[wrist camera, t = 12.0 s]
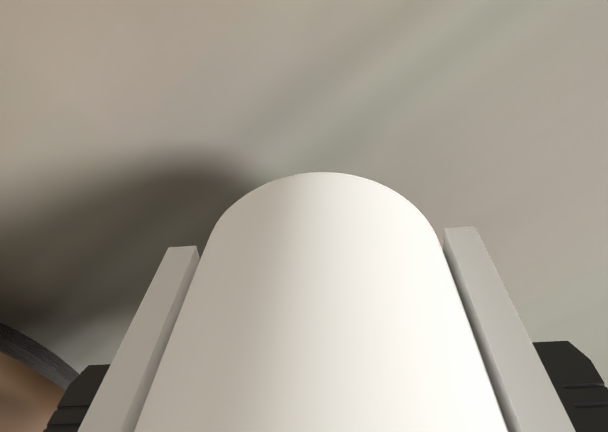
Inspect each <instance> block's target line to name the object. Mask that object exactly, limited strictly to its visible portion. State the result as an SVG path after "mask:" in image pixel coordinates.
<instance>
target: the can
mask: <svg viewBox="0 0 608 432" xmlns="http://www.w3.org/2000/svg"><path fill="white" fill-rule="evenodd" d="M134 432H509V431H508V428H507V426H506V423H505V420H504V417H503V414H502V412H501V409H500V406H499V403H498V400H497V398H496V395H495V392H494V389H493V387H492V384H491V381H490V378H489V375H488V373H487V370H486V367H485V364H484V362H483V359H482V356H481V353H480V351H479V348H478V345H477V342H476V339H475V337H474V334H473V331H472V328H471V326H470V323H469V320H468V317H467V315H466V312H465V309H464V306H463V304H462V301H461V298H460V295H459V293H458V290H457V287H456V284H455V282H454V279H453V276H452V274H451V271H450V268H449V266H448V263H447V260H446V258H445V255H444V252H443V250H442V247H441V245H440V243H439V240H438V238H437V236H436V234H435V232H434V230H433V229H432V227H431V225H430V224H429V222H428V221H427V220H426V218H425V217H424V216H423V215H422V213H421V212H420V211H419V210H418V209H417V208H416V207H415V206H414V205H413V204H412V203H410V202H409V201H408V200H407V199H405V198H404V197H403V196H401V195H400V194H398V193H397V192H395V191H393V190H392V189H390V188H388V187H386V186H384V185H382V184H379V183H377V182H374V181H372V180H369V179H366V178H362V177H358V176H354V175H349V174H343V173H333V172H312V173H303V174H296V175H291V176H287V177H283V178H280V179H277V180H274V181H271V182H269V183H266V184H264V185H262V186H260V187H258V188H256V189H254V190H252V191H251V192H249V193H248V194H246V195H245V196H243V197H242V198H240V199H239V200H238V201H237V202H235V203H234V204H233V205H232V206H231V207H230V208H228V209H227V210H226V211H225V213H224V214H223V215H222V216H221V217H220V219H219V220H218V222H217V223H216V225H215V227H214V229H213V231H212V233H211V235H210V237H209V239H208V242H207V244H206V247H205V249H204V251H203V254H202V256H201V259H200V261H199V264H198V266H197V269H196V272H195V274H194V277H193V279H192V282H191V284H190V287H189V290H188V292H187V295H186V297H185V300H184V302H183V305H182V308H181V310H180V313H179V315H178V318H177V320H176V323H175V326H174V328H173V331H172V334H171V336H170V339H169V341H168V344H167V347H166V349H165V352H164V354H163V357H162V360H161V362H160V365H159V367H158V370H157V373H156V375H155V378H154V380H153V383H152V386H151V388H150V391H149V393H148V396H147V399H146V401H145V404H144V407H143V409H142V412H141V414H140V417H139V420H138V422H137V425H136V427H135V430H134Z"/></svg>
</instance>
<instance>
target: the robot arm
mask: <svg viewBox="0 0 608 432" xmlns="http://www.w3.org/2000/svg"><path fill="white" fill-rule="evenodd" d="M443 252H444V255H445V258H446V260H447V263H448V266H449V268H450V271H451V274H452V276H453V279H454V282H455V284H456V287H457V290H458V293H459V295H460V298H461V301H462V304H463V306H464V309H465V312H466V315H467V317H468V320H469V323H470V326H471V328H472V331H473V334H474V337H475V339H476V342H477V345H478V348H479V351H480V353H481V356H482V359H483V362H484V364H485V367H486V370H487V373H488V375H489V378H490V381H491V384H492V387H493V389H494V392H495V395H496V398H497V400H498V403H499V406H500V409H501V412H502V414H503V417H504V420H505V423H506V426H507V428H508V431H509V432H608V388H607V387H605V386H604V382H603V380H602V378H601V377H600V375H599V373H598V372H597V370H596V368H595V367H594V365H593V363H592V362H591V360H590V359H589V358H588V357H586V356H585V355H584V354H583V353H582V352H580V351H579V350H578V349H577V348H576V347H574V346H573V345H572V344H571V343H570V342H569V341H554V342H533V343H532V341H531V339H530V337H529V335H528V333H527V331H526V329H525V327H524V325H523V323H522V321H521V319H520V317H519V315H518V313H517V311H516V309H515V307H514V305H513V303H512V301H511V299H510V297H509V295H508V293H507V291H506V288H505V286H504V284H503V282H502V280H501V278H500V276H499V274H498V272H497V270H496V268H495V266H494V264H493V262H492V260H491V258H490V256H489V254H488V252H487V250H486V248H485V246H484V244H483V242H482V240H481V237H480V235H479V233H478V231H477V229H476V227H475V226H469V227H454V228H444V246H443ZM199 261H200V258H199V254H198V250H197V246H182V247H168V249H167V252H166V254H165V256H164V258H163V260H162V262H161V264H160V266H159V268H158V270H157V272H156V274H155V276H154V278H153V280H152V282H151V284H150V286H149V288H148V290H147V292H146V294H145V296H144V298H143V300H142V302H141V304H140V306H139V308H138V310H137V312H136V314H135V316H134V318H133V320H132V322H131V324H130V326H129V328H128V330H127V332H126V334H125V336H124V338H123V341H122V343H121V345H120V347H119V349H118V351H117V353H116V355H115V357H114V359H113V361H112V363H111V364H108V365H89V366H88V367H87V368H86V369H85V370H84V371H83V372H82V373H81V374H80V375H79V376H78V377H76V378H75V379H74V380H73V381H72V382H71V383H70V384H69V386H68V388H67V390H66V391H65V393H64V395H63V397H62V398H61V400H60V402H59V404H58V406H57V411H54V413H53V414H52V416H51V418H50V420H49V421H48V423H47V428H46V429H44V430H43V432H134V430H135V427H136V425H137V422H138V420H139V417H140V414H141V412H142V409H143V407H144V404H145V401H146V399H147V396H148V393H149V391H150V388H151V386H152V383H153V380H154V378H155V375H156V373H157V370H158V367H159V365H160V362H161V360H162V357H163V354H164V352H165V349H166V347H167V344H168V341H169V339H170V336H171V334H172V331H173V328H174V326H175V323H176V320H177V318H178V315H179V313H180V310H181V308H182V305H183V302H184V300H185V297H186V295H187V292H188V290H189V287H190V284H191V282H192V279H193V277H194V274H195V272H196V269H197V266H198V264H199Z"/></svg>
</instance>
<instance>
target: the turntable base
mask: <svg viewBox="0 0 608 432" xmlns="http://www.w3.org/2000/svg"><path fill="white" fill-rule="evenodd" d="M0 352H2V353H4V354H6V355H8V356H10V357H12V358H14V359H16V360H18V361H20V362H21V363H23V364H25V365H27V366H28V367H30V368H32V369H33V370H35V371H36V372H38V373H40V374H41V375H43V376H44V377H46V378H48V379H49V380H51V381H53V382H54V383H56V384H57V385H58V386H60V387H61V388H62V389H64V390H65V391H66V390H67V388H68V386H69V384H70V383H71V382H72V381H73V380H74V379H75V378H76V377H78V376H79V374H78V373H77V372H76V371H75V370H74V369H73V368H71V367H70V366H69V365H68V364H66V363H65V362H64V361H63V360H61V359H60V358H59V357H58V356H56V355H55V354H53V353H52V352H50V351H49V350H47V349H46V348H44V347H43V346H41V345H40V344H38V343H37V342H35V341H33V340H32V339H30V338H28V337H26V336H24V335H23V334H21V333H19V332H17V331H15V330H13V329H11V328H9V327H7V326H5V325H2V324H0Z"/></svg>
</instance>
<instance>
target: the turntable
mask: <svg viewBox="0 0 608 432" xmlns="http://www.w3.org/2000/svg"><path fill="white" fill-rule="evenodd" d="M64 393H65V390H64V389H62V388H61V387H60V386H58V385H57V384H56V383H54V382H53V381H51V380H49V379H48V378H46V377H44V376H43V375H41V374H40V373H38V372H36V371H35V370H33V369H32V368H30V367H28V366H27V365H25V364H23V363H21V362H20V361H18V360H16V359H14V358H12V357H10V356H8V355H6V354H4V353H2V352H0V432H43V430H44V429H46V428H47V423H48V421H49V420H50V418H51V416H52V414H53V413H54V411H57V406H58V404H59V402H60V400H61V398H62V397H63V395H64Z"/></svg>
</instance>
